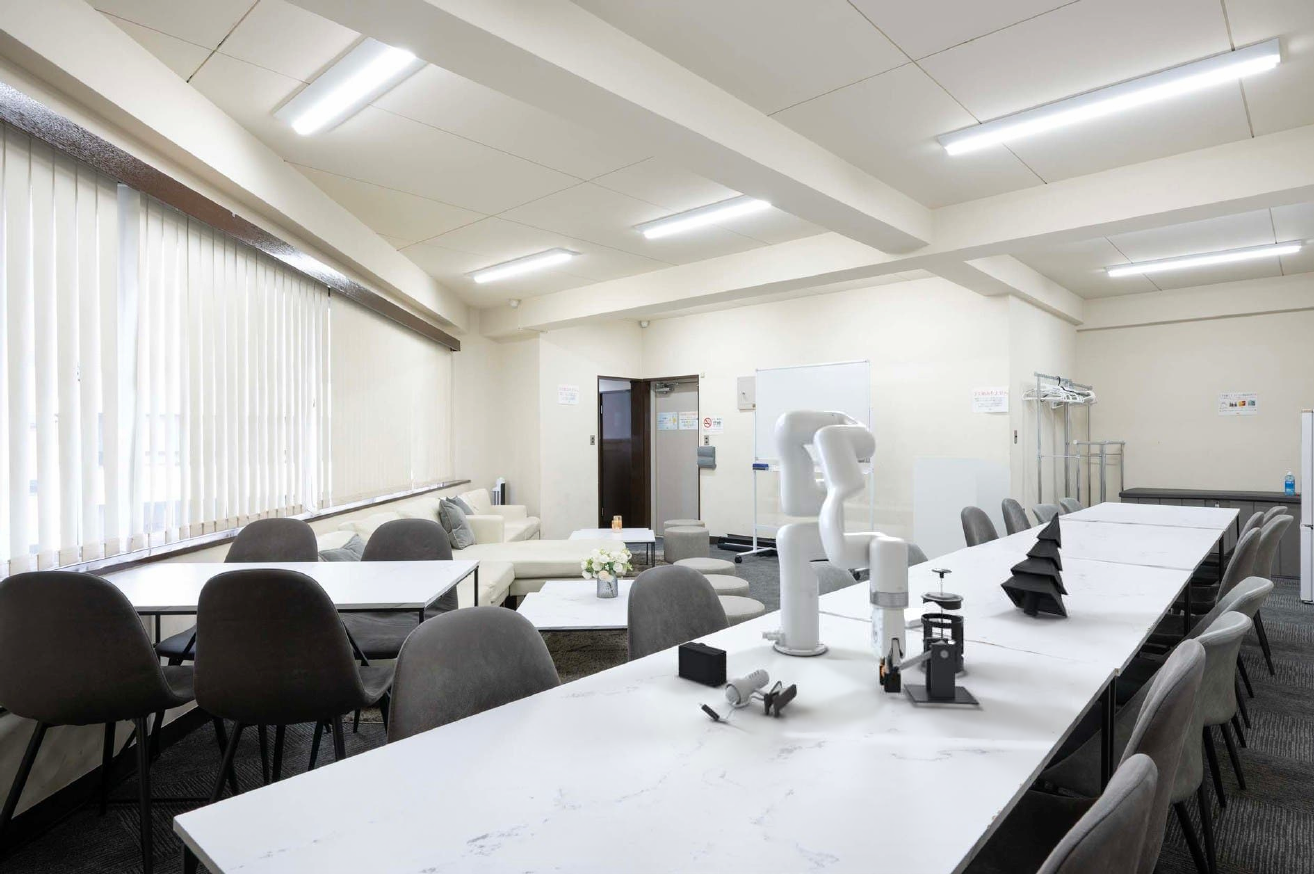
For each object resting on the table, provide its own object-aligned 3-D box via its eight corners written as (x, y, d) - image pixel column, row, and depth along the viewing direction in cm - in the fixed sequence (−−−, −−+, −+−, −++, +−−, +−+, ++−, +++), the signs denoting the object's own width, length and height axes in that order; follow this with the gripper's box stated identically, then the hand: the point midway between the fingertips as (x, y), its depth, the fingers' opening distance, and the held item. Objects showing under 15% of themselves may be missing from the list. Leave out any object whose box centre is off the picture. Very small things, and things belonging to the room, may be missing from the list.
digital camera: (730, 681, 149) (730, 649, 149) (715, 687, 145) (715, 655, 145) (694, 670, 156) (694, 639, 156) (678, 676, 152) (678, 645, 152)
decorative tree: (1065, 629, 199) (1091, 526, 211) (1047, 606, 191) (1076, 501, 204) (1013, 619, 210) (1040, 522, 223) (994, 597, 203) (1024, 497, 215)
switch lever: (887, 685, 138) (880, 670, 138) (884, 679, 141) (877, 665, 141) (952, 656, 136) (945, 642, 136) (947, 651, 139) (940, 637, 140)
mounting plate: (905, 610, 209) (905, 604, 209) (943, 619, 198) (943, 613, 198) (865, 619, 199) (865, 612, 199) (903, 629, 188) (903, 622, 188)
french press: (943, 681, 148) (943, 575, 148) (909, 668, 156) (908, 568, 157) (978, 671, 154) (978, 570, 154) (943, 660, 162) (943, 563, 162)
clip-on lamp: (735, 747, 123) (802, 703, 133) (731, 716, 122) (799, 674, 132) (693, 720, 133) (759, 680, 143) (690, 690, 131) (756, 653, 141)
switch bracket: (915, 706, 134) (915, 646, 134) (903, 689, 143) (903, 633, 143) (979, 709, 133) (978, 648, 133) (963, 692, 142) (963, 635, 142)
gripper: (862, 589, 148) (863, 674, 148) (879, 607, 131) (880, 703, 131) (897, 590, 147) (898, 675, 147) (919, 608, 131) (920, 704, 130)
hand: (890, 687), depth 139 cm, fingers closed on switch lever, 3 cm apart
